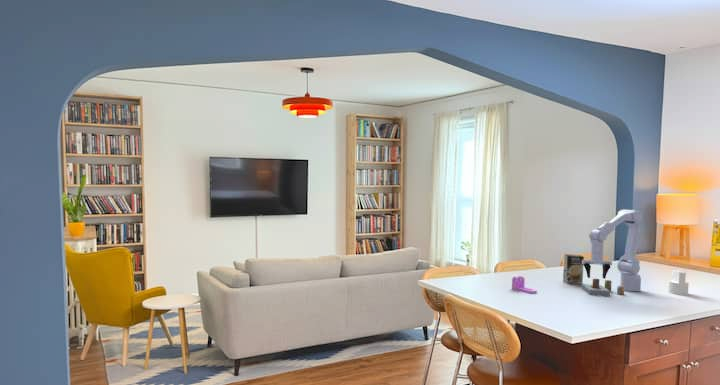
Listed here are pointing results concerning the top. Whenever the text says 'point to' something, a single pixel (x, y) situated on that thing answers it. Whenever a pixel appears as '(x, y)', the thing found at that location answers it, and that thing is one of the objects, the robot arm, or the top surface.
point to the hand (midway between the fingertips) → (596, 277)
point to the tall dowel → (595, 283)
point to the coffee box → (573, 269)
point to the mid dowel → (608, 284)
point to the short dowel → (620, 290)
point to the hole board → (595, 290)
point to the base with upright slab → (678, 283)
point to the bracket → (521, 285)
